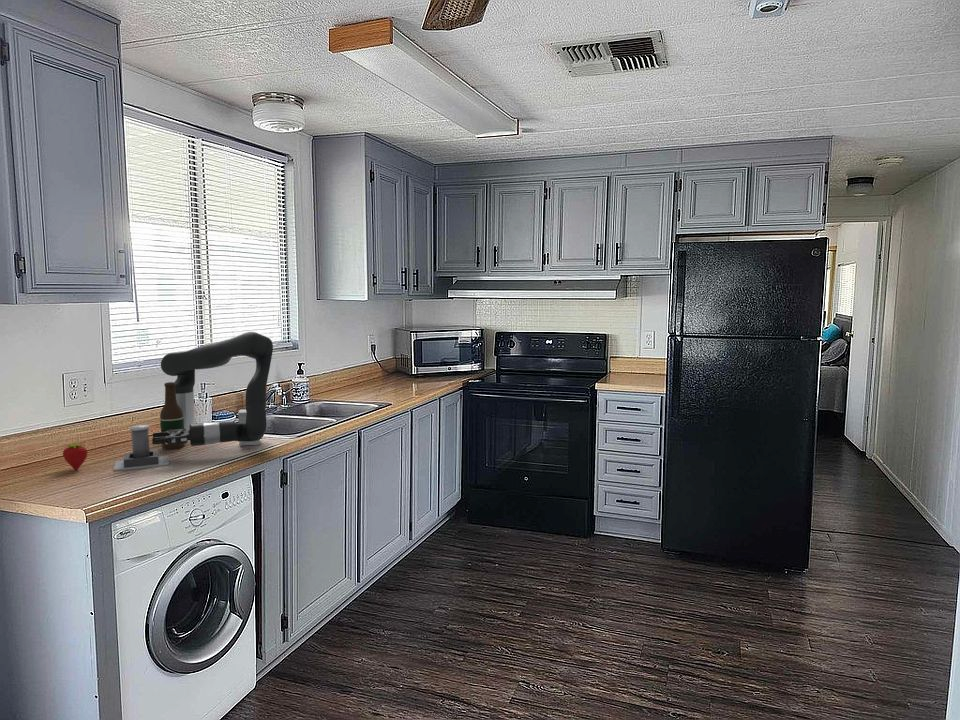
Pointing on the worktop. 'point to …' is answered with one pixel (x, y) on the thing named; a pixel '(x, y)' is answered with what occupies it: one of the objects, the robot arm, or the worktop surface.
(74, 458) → the strawberry
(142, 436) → the gray flanged cylinder
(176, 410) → the beer bottle
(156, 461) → the grey recessed tray
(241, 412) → the supplement box
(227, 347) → the robot arm
